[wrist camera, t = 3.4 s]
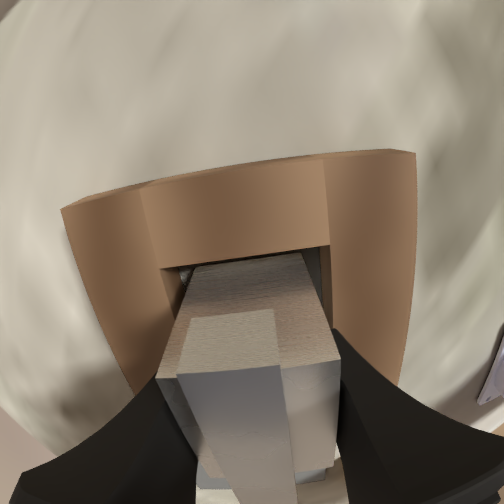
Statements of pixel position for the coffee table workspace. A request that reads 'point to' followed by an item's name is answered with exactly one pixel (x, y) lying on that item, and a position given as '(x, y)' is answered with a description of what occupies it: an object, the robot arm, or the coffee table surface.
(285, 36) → the coffee table surface
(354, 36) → the coffee table surface
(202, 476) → the slate mat
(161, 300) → the slot plate
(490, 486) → the robot arm
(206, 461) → the t key
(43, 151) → the coffee table surface
